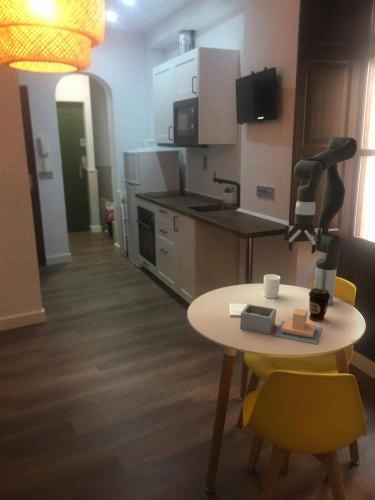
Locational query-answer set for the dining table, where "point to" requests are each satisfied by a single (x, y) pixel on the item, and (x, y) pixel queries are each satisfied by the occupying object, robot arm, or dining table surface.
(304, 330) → the lid
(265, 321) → the storage box
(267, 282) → the white cup
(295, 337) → the mat
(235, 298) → the dining table surface
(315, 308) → the coffee cup
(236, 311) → the external hard drive
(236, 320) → the dining table surface
